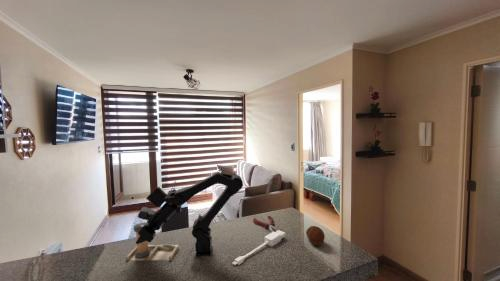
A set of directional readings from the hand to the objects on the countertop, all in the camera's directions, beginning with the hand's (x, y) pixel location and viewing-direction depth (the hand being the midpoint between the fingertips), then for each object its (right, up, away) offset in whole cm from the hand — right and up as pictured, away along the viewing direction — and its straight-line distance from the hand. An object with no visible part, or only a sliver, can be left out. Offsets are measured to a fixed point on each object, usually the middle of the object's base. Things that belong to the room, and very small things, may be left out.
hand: (138, 240), depth 95 cm
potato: (+80, -6, +11) cm, 81 cm away
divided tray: (+6, -7, +1) cm, 10 cm away
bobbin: (+1, -7, +1) cm, 7 cm away
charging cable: (+53, -7, +6) cm, 54 cm away
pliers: (+57, -6, +29) cm, 64 cm away
